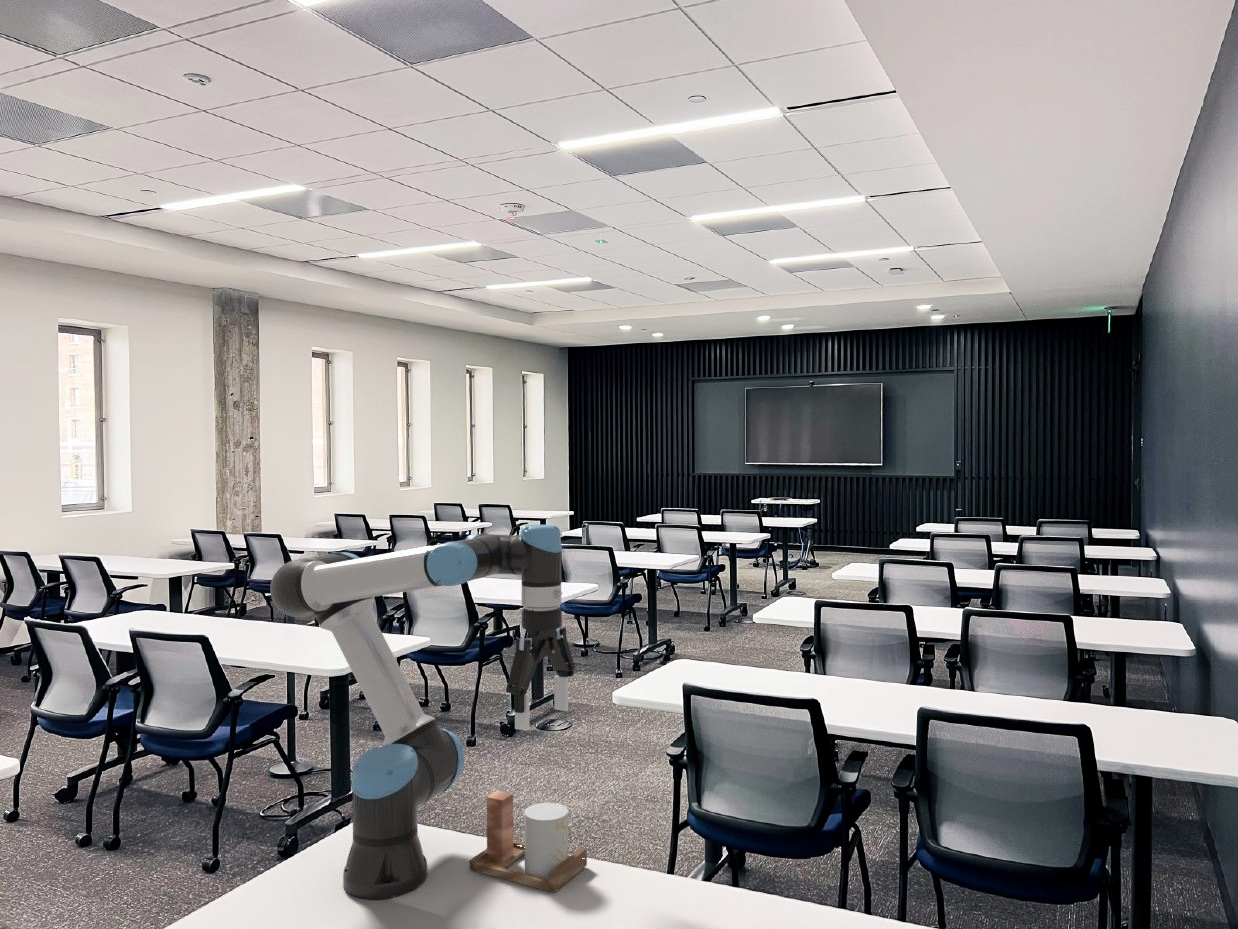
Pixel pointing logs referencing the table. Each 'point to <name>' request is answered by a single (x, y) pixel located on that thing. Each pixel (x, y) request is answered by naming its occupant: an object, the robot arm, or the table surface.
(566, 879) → the sled
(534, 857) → the cup
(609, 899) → the table surface
